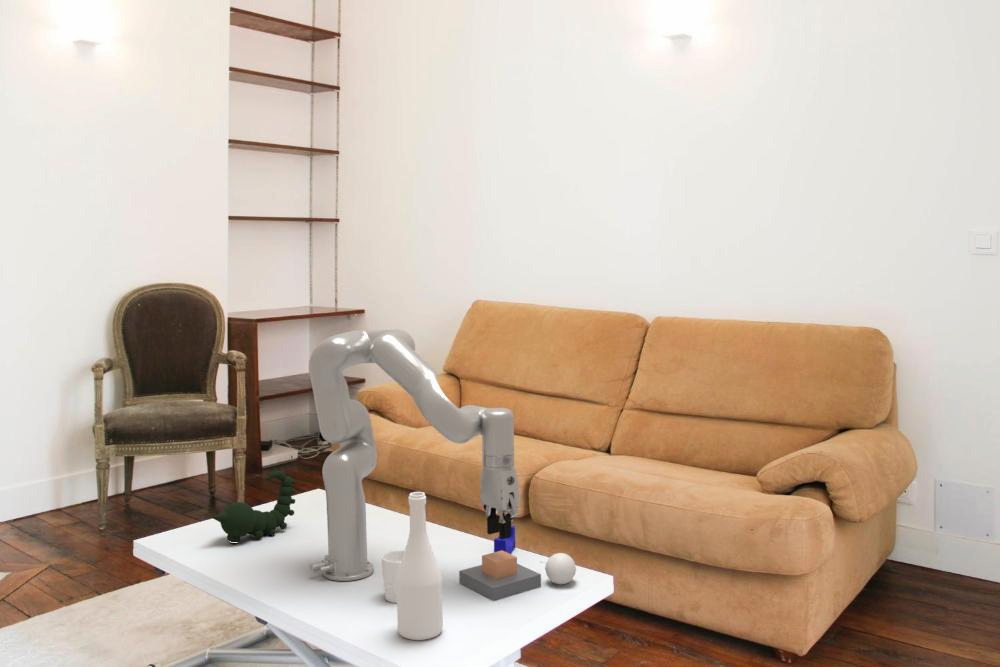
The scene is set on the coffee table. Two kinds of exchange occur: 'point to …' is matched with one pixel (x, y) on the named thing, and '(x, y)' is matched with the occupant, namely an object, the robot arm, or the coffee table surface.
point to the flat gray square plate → (499, 582)
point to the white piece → (560, 568)
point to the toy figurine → (258, 513)
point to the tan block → (499, 564)
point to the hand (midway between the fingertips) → (499, 534)
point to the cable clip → (505, 543)
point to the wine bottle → (419, 580)
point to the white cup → (391, 573)
